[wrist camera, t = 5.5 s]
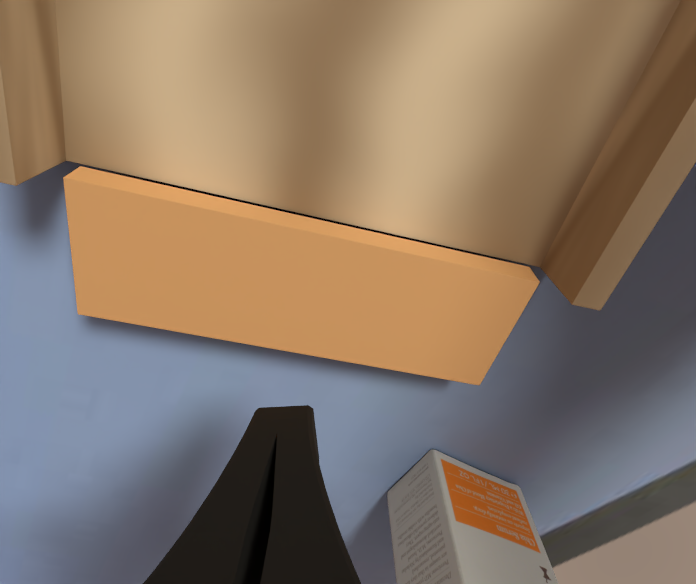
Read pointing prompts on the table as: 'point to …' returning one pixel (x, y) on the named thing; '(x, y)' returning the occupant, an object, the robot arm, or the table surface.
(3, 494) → the table surface
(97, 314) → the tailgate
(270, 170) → the tray
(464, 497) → the skincare box
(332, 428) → the table surface
